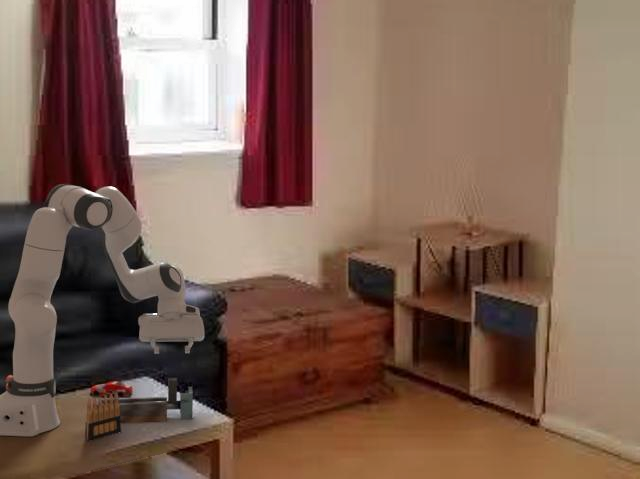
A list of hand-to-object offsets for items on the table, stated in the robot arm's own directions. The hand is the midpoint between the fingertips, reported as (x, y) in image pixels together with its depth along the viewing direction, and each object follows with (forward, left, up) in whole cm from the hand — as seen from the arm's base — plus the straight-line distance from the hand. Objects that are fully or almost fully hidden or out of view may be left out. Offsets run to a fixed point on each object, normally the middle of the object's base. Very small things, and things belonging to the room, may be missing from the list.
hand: (172, 352), depth 303 cm
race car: (-19, +10, -17) cm, 27 cm away
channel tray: (-13, -11, -16) cm, 24 cm away
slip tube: (-4, -11, -14) cm, 19 cm away
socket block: (+4, -11, -16) cm, 20 cm away
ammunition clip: (-20, -25, -17) cm, 36 cm away
